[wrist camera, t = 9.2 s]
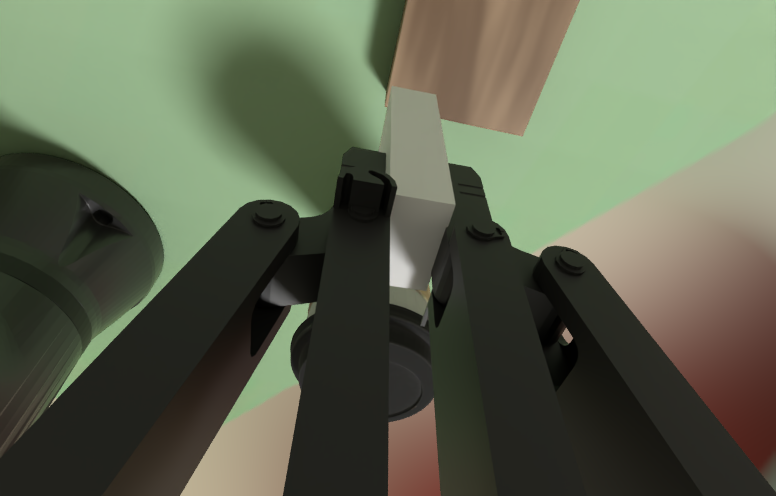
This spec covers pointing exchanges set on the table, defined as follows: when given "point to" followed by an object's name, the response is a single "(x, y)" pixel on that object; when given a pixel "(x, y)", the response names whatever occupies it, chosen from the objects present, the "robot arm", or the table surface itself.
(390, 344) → the coffee cup
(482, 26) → the wooden block
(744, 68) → the table surface
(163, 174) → the table surface
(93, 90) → the table surface
